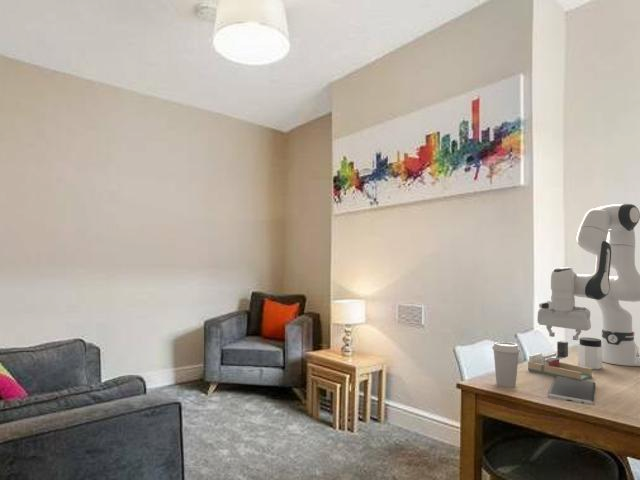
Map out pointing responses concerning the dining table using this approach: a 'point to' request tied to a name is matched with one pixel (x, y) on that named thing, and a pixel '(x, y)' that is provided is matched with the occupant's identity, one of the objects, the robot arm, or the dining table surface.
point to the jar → (590, 353)
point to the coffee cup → (506, 363)
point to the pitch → (564, 369)
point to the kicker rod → (559, 354)
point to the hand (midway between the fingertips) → (563, 338)
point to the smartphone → (572, 390)
